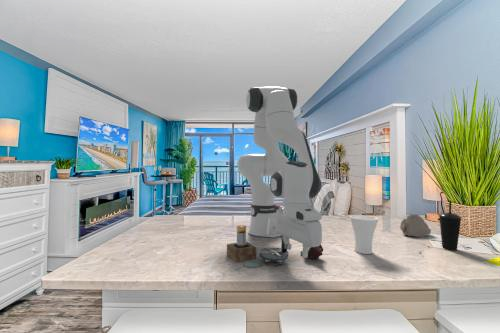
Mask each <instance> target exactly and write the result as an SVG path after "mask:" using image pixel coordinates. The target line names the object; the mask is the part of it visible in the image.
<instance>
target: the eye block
mask: <svg viewBox="0 0 500 333" xmlns="http://www.w3.org/2000/svg"><path fill="white" fill-rule="evenodd" d="M226 256H228V257H229V258H230V259H231V260H233V261H234V262H235V263H239V262H243V261H244V262H245V261H249V260H255V259H257V247H256V246H254V245H253V244H252V243H249V242H248V241H246V247H244V248H237V242H233V243H227V244H226Z"/></svg>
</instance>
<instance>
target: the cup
mask: <svg viewBox="0 0 500 333" xmlns="http://www.w3.org/2000/svg"><path fill="white" fill-rule="evenodd" d="M349 219H350V222H351V225H352V229H353V233H354V241H355V242H354V251H355V252H356V253H358V254H363V255H371V254H373V239H374V234H375V230H376V228H377V225H378V223H379V220H380V219H379V218H378V217H376V216H371V215H366V214H365V215H364V214H353V215H350V216H349Z"/></svg>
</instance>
